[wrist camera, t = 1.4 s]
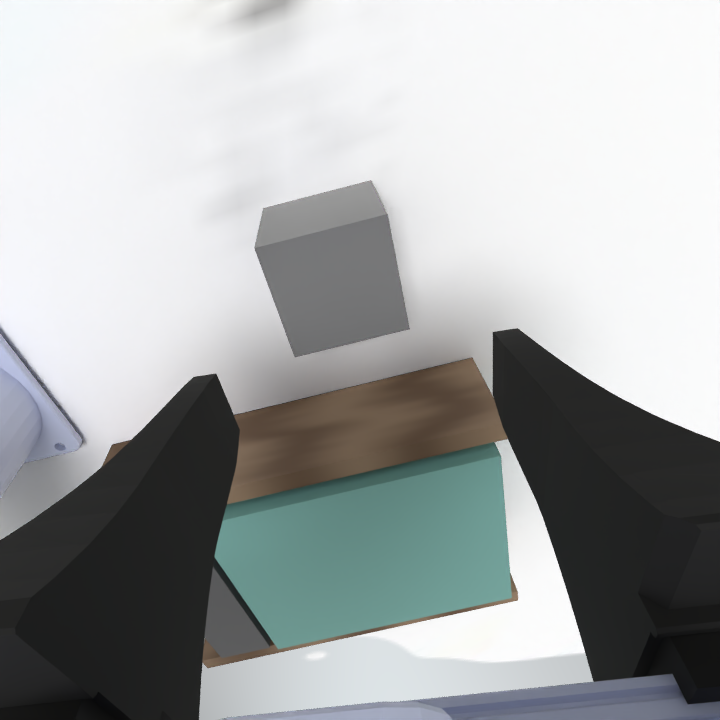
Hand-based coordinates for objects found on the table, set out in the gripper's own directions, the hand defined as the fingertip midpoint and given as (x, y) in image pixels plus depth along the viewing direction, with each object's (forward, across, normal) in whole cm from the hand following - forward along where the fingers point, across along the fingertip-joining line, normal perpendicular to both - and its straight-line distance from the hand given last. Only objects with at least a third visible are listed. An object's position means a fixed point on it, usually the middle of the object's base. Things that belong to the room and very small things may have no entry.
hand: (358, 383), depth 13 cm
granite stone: (+10, +1, 0) cm, 10 cm away
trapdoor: (+6, +4, +15) cm, 17 cm away
